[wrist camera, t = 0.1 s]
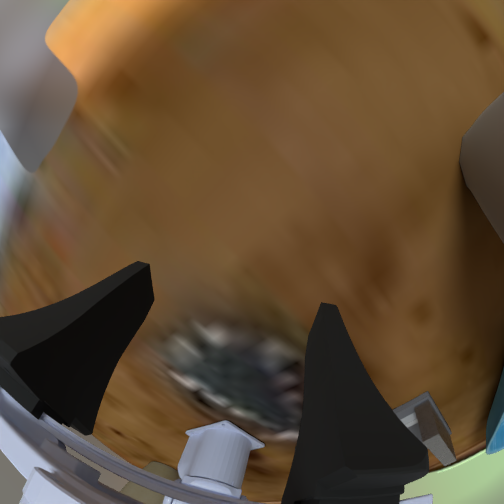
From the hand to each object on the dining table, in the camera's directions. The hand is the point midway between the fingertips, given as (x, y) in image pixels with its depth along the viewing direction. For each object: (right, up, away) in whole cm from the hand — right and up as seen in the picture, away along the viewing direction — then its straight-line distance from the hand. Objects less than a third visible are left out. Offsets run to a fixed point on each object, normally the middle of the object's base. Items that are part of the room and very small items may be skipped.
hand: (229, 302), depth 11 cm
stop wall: (+26, -21, +14) cm, 36 cm away
